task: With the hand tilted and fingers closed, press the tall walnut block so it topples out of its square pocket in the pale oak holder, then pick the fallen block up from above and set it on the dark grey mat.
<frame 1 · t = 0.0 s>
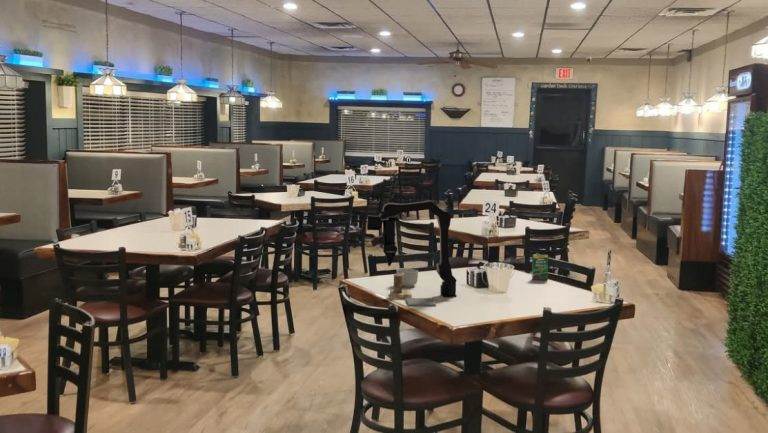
hand: (388, 264, 344), 15 cm above the table, tool pointing down, fingers open, 9 cm apart
walnut block: (397, 285, 343), point 5 cm above the table
teacup: (405, 286, 366), on the table
grey mat: (420, 303, 332), on the table
coffee box: (539, 280, 389), on the table
oak holder: (397, 296, 344), on the table
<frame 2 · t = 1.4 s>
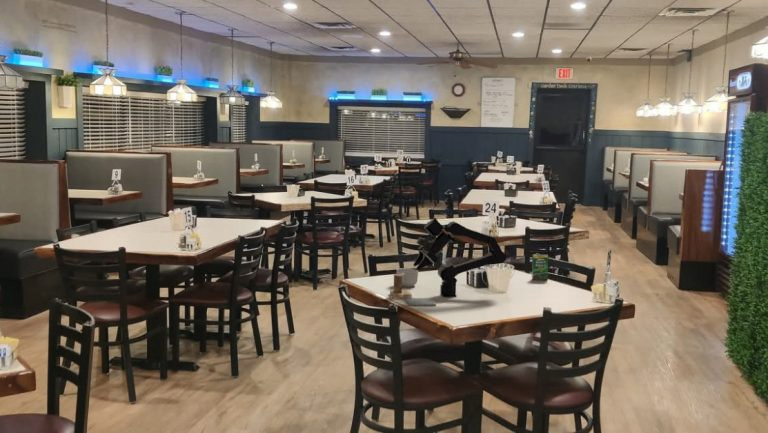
hand: (415, 267, 344), 13 cm above the table, tool tilted 45°, fingers open, 7 cm apart
nothing on the table moved.
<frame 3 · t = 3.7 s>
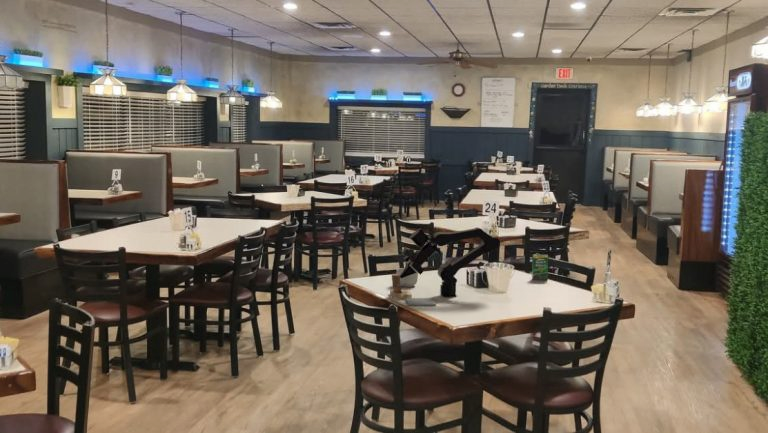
hand: (400, 277, 343), 9 cm above the table, tool tilted 45°, fingers closed
walnut block: (396, 285, 343), point 5 cm above the table, tilted 6°, touching gripper
everything else where it was.
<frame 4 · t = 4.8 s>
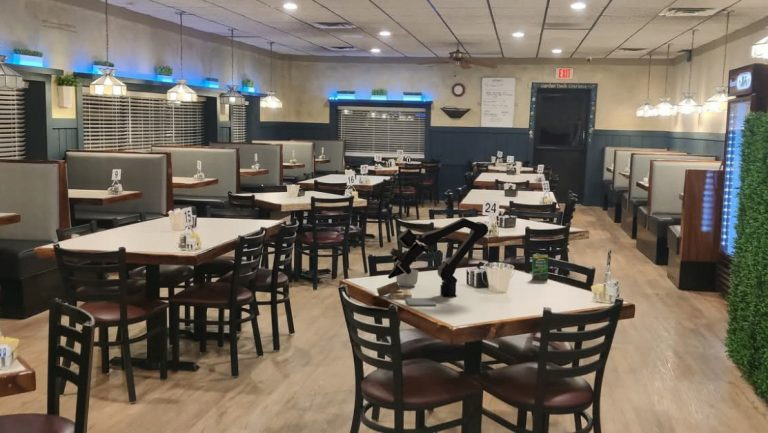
hand: (388, 277, 342), 9 cm above the table, tool tilted 45°, fingers closed
walnut block: (388, 289, 343), point 3 cm above the table, tilted 110°, touching oak holder
everything else where it was.
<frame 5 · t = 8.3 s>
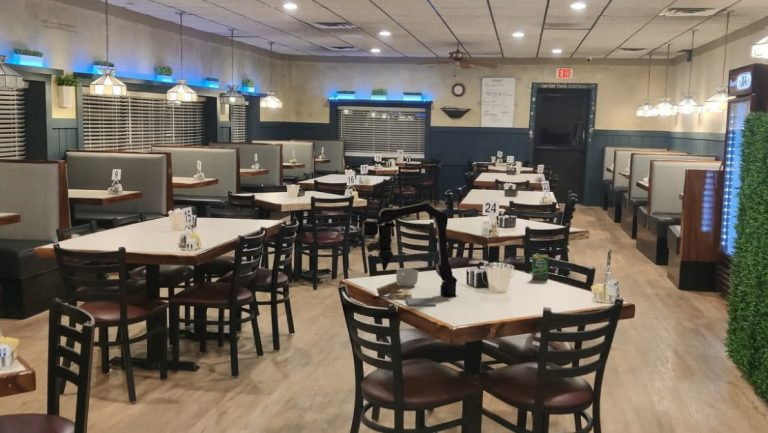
hand: (384, 269, 342), 12 cm above the table, tool pointing down, fingers closed
nothing on the table moved.
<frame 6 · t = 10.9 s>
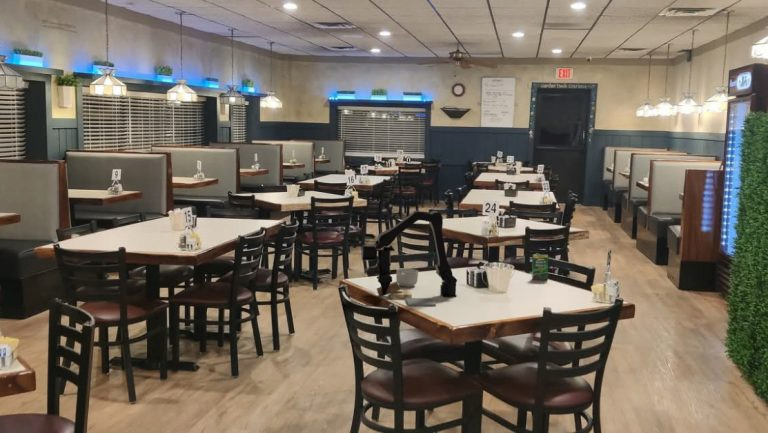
hand: (383, 293, 343), 1 cm above the table, tool pointing down, fingers closed on walnut block, 3 cm apart
walnut block: (388, 289, 343), point 3 cm above the table, tilted 110°, touching gripper, oak holder
everything else where it was.
when the fingers open (3 cm above the table, at t = 14.8 s): walnut block drops 3 cm and tips over, resting on grey mat.
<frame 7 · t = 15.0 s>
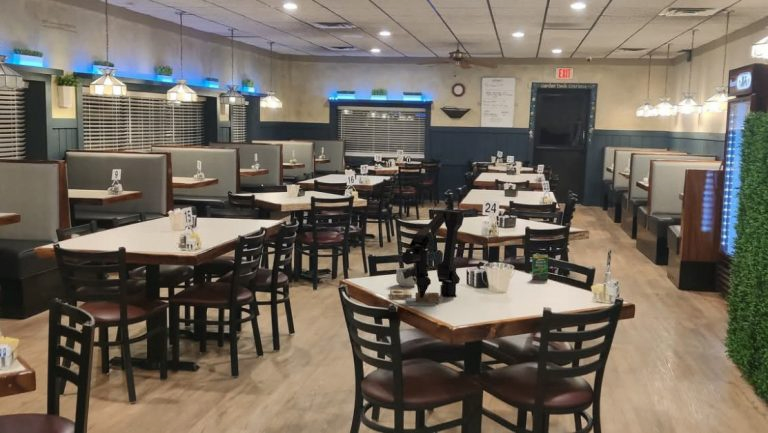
hand: (420, 296, 331), 3 cm above the table, tool pointing down, fingers open, 6 cm apart
walnut block: (427, 297, 332), point 3 cm above the table, tilted 90°, touching grey mat
everything else where it was.
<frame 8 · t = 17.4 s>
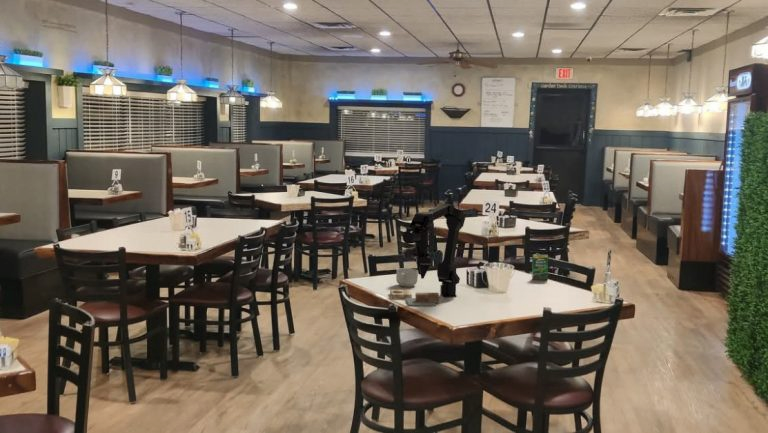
hand: (421, 276, 330), 12 cm above the table, tool pointing down, fingers open, 9 cm apart
nothing on the table moved.
at the end: walnut block inside the target area on the grey mat (3.0 cm from its centre), point 2.5 cm above the grey mat's base; walnut block tilted 90° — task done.
